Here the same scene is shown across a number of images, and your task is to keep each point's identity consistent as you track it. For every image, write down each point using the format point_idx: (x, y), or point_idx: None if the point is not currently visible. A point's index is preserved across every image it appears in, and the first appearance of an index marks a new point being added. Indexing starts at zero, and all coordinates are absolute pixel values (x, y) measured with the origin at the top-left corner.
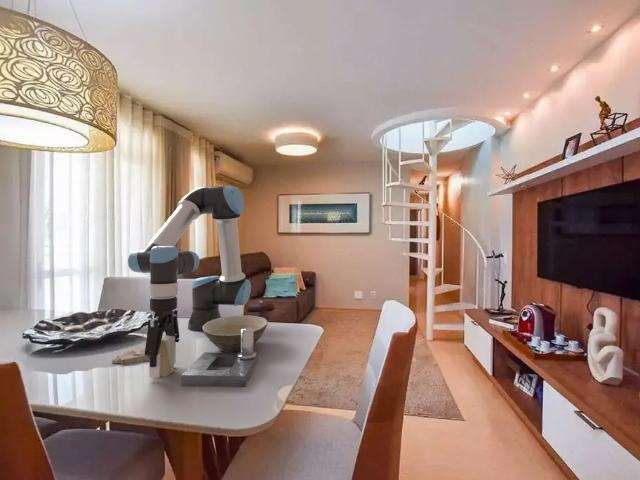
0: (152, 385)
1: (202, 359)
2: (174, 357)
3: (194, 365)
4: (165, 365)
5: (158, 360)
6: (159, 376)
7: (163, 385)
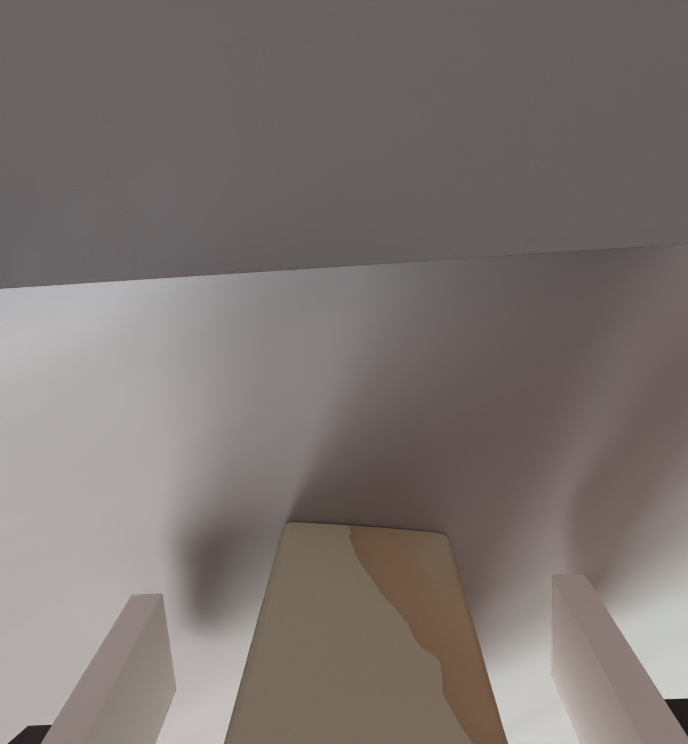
0: (672, 560)
1: (117, 187)
2: (132, 651)
3: (386, 204)
4: (471, 619)
5: (686, 741)
6: (564, 577)
7: (674, 445)
